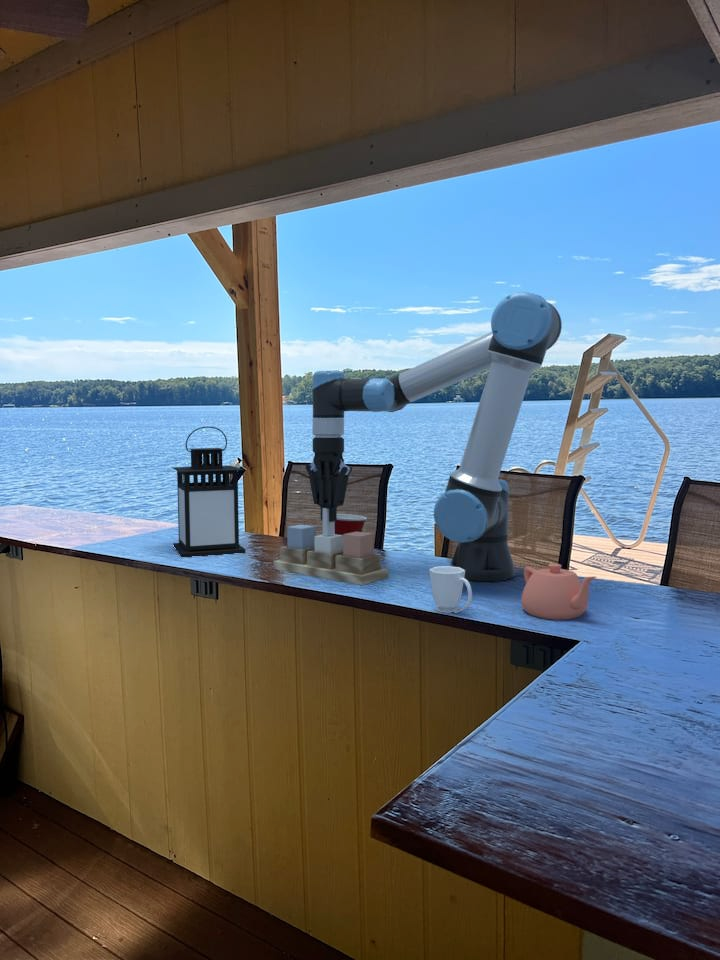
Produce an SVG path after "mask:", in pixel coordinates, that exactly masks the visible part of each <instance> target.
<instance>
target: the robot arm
mask: <svg viewBox="0 0 720 960" xmlns="http://www.w3.org/2000/svg"><path fill="white" fill-rule="evenodd" d="M490 320H491V321H490V327H491V332H488V333H486V334H483V335H482V336H480V337H478V338H475V339H473V340H471V341H469V342H467V343H464V344H462V345H459V346H458V347H456V348H455V347H454V348H452V350H449V351H447V352H444V353H442V354H440V355H438V356H436V357H434V358H432V359H429V360H427V361H424V362H422V363H420V364H419V365H416V366H414V367H411V368H410V369H407V370H405V371H402V372H401V373H399V374H396V375H394V376H392V377H390V378H381V377H378V378H377V377H372V378H352V379H350V378H345V373H344V372H343V371H341V370H316V371H315V372H314V373H313V375H312V385H311V386H312V388H311V393H312V396H311V397H312V432H311V433H312V435H313V436H314V437H313V438H312V453H314V456H313V459H312V462H311V463H309V464H306V465H305V470H306V471H307V475H308V477H309V478H308V479H309V483H310V484H309V485H310V489H311V496H312V498H313V499H312V501H313V504H314V505H317V506H318V507H320V508H319V509H320V520H321V521H322V534H323V535H326V536H328V535H333V534H335V521H336V519H337V514H338V513H337V511H338V510H337V509H338V507H341V506H343V505H344V503H345V499H346V493H347V487H348V482H349V478H350V477H349V476H350V475H351V473H352V471H353V467H352V466H349V465H347V464H346V463H345V459H344V457H343V454H344V452H345V438H344V437H342V436H343V435H345V412H373V413H380V412H386V413H394V412H397V411H401V410H403V409H404V408H405V407H406V406H407V405H409V404H410V403H413V402H415V401H418V400H419V399H422V398H425V397H427V396H429V395H431V394H434V393H437V392H439V391H440V390H443V389H445V388H447V387H450V386H453V385H454V384H457V383H459V382H461V381H464V380H466V379H469V378H471V377H473V376H476V375H478V374H480V373H482V372H486V371H488V374H487V377H486V380H485V384H484V387H483V391H482V393H481V397H480V400H479V403H478V407H477V410H476V413H475V415H474V416H475V417H474V420H473V422H472V423H473V424H472V425H471V430H470V432H469V437H468V439H467V443H466V445H465V449H464V452H463V455H462V459H461V462H460V465H459V468H458V469H456V470H454V471H452V472H450V475H449V478H448V480H447V481H448V482H447V485H446V487H445V491H444V492H443V493H442V494H441V495H440V496H439V498H438V500H436V503H435V504H434V507H433V519H434V523H435V526H436V527H437V529H438V531H439V532H440V533H441V534H442V535H443V536H444V537H445V538H447V539H448V540H450V541H452V542H457V543H456V547H455V549H454V552H453V556H452V559H451V562H450V565H449V566H452V567H460V568H462V569H464V570H465V576H464V578H465V579H466V580H468V581H475V582H498V581H506V580H510V579H512V578H515V570H516V569H515V564H514V561H513V557H512V553H511V551H510V548H509V543H508V535H509V534H508V533H509V532H508V531H509V529H508V528H509V496H510V492H509V484H508V482H507V481H506V480H504V479H499V477H500V473H501V471H502V467H503V464H504V462H505V461H504V460H505V457H506V454H507V453H508V452H507V451H508V448H509V445H510V442H511V439H512V436H513V433H514V430H515V427H516V423H517V420H518V417H519V413H520V410H521V407H522V405H523V401H524V397H525V394H526V392H527V388H528V385H529V383H530V379H531V375H532V373H533V372H534V371H535V370H537V369H539V368H541V367H542V365H543V362H544V360H545V356H546V353H547V351H548V350H550V349H551V348H552V347H554V345H555V344H556V343H557V342H558V339H559V338H560V336H561V332H562V327H563V326H562V318H561V315H560V313H559V311H558V310H557V308H556V307H555V306H554V305H553V304H551V303H550V302H549V301H547V300H546V299H545V298H544V297H542V296H541V295H539V294H537V293H533V292H527V291H518V292H514V293H511V294H509V295H507V296H506V297H504V298H502V299H501V300H500V301H499V302H498V304H497V305H496V306H495V308H494V310H493V312H492V315H491V319H490Z"/></svg>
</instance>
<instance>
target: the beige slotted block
mask: <svg viewBox="0 0 720 960" xmlns="http://www.w3.org/2000/svg"><path fill="white" fill-rule="evenodd" d="M373 554H374V555H373V556H369V557H365V558H361V559H360V558H353V557H347V556H343V551H342V552H337V553H333V554H327V553H321V552H315V547H313V548H308V549H304V550H301V549H294V548H288V545H285V546H280V547H279V555H280V557H279V559H277V560H273V564H272V565H273V570H276V571H282V572H287V573H292V574H299V575H303V576H310V577H314V578H321V579H325V580H331V581H336V582H343V583H348V584H352V585H353V584H354V585H359V586H364V585H367V584H371V583H373V582H377V581H381V580H384V579H387V578H389V568H384V567H382V554H379V553H374V552H373Z"/></svg>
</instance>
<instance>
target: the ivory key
mask: <svg viewBox="0 0 720 960" xmlns="http://www.w3.org/2000/svg"><path fill="white" fill-rule="evenodd" d="M314 538H315V552H321V553H327V554H333V553H337V552H342V551H343V535H337V534H333V535H328V536H326V535H323V533H322V534H318V535H317V534H316V536H314Z"/></svg>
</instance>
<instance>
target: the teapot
mask: <svg viewBox="0 0 720 960" xmlns="http://www.w3.org/2000/svg"><path fill="white" fill-rule="evenodd" d="M523 576H524V581H525V584H524V585H525V586H524V588H523V589H522V594H521V601H520V603H521V606H522V607H523V609H524V610H525V612H526V613H527V614H529V615H531V616H534V617H536V618H539V619H545V620H553V619H556V620H555V621H557V620H560V619H564V620H572V619H571V618H573V619H576V617H577V618H579V617H581V616H582V615H583V614H584V613H585V612H586V610H587V609H588V607H589V603H588V601H589V598H590V587H591V586H590V585H591V582H592V581H594V579H596V578H597V576H585V577H584V578H583V579H582V581H581V580H580V578H579V576H578V574H577V573H576V572H575V571H573V570H568V569H564V568H562V565H561V564H560V563H549V564H548V568H539V569H536V568H534V567H532V566H526V567H524V569H523ZM578 616H579V617H578ZM560 621H561V620H560Z"/></svg>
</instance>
